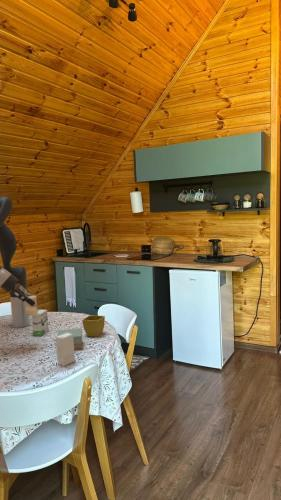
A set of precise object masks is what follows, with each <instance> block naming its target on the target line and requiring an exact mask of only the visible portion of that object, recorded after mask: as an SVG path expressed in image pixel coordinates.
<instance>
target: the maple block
mask: <svg viewBox="0 0 281 500" xmlns="http://www.w3.org/2000/svg"><path fill="white" fill-rule="evenodd" d="M28 297H29V298H30V299H32V300H33V301H34V302H35V304H34V305H33V306H31V305H30V304H28V303H27V302H25V304H26V316H29V317H30V316H32V315H37V313H38V310H39V309H38V300H37V298H38V297H37V295H31V296H28Z"/></svg>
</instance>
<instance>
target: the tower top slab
mask: <svg viewBox="0 0 281 500" xmlns="http://www.w3.org/2000/svg"><path fill="white" fill-rule="evenodd" d="M65 333H70V334H73V342H74V344H81V343H83V328H71V329H69V328H68V329H61V330H60V329H59V330H58V331H57V335H56V337H57V336H59V335H62V334H65Z"/></svg>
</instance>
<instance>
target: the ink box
mask: <svg viewBox="0 0 281 500" xmlns="http://www.w3.org/2000/svg"><path fill="white" fill-rule="evenodd" d="M37 310H38V313H37V315H31V321H32V333H33V334H32V335H33V337H42V336H44V335H45V334H47V333H48V332H49V331H50V330H49V319H48V318H49V316H48V309H37Z"/></svg>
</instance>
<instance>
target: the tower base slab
mask: <svg viewBox="0 0 281 500" xmlns="http://www.w3.org/2000/svg"><path fill="white" fill-rule="evenodd" d="M80 350H84V346H83V342H82V343H81V344H74V351H80Z"/></svg>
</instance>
